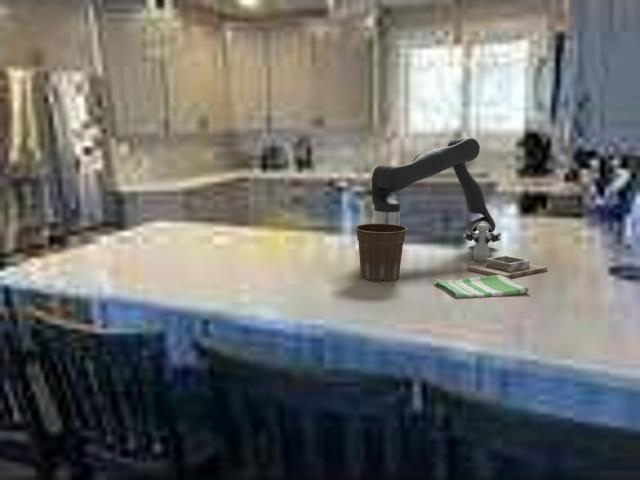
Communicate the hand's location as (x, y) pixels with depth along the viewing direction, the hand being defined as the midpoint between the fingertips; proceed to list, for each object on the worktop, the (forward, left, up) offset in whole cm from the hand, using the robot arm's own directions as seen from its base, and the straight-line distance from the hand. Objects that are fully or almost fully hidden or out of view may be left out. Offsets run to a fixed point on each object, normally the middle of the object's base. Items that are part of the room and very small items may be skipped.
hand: (482, 240), depth 248 cm
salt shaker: (+2, +2, -8) cm, 8 cm away
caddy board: (-4, -14, -8) cm, 17 cm away
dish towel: (-32, -26, -9) cm, 42 cm away
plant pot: (-47, +2, -8) cm, 48 cm away
